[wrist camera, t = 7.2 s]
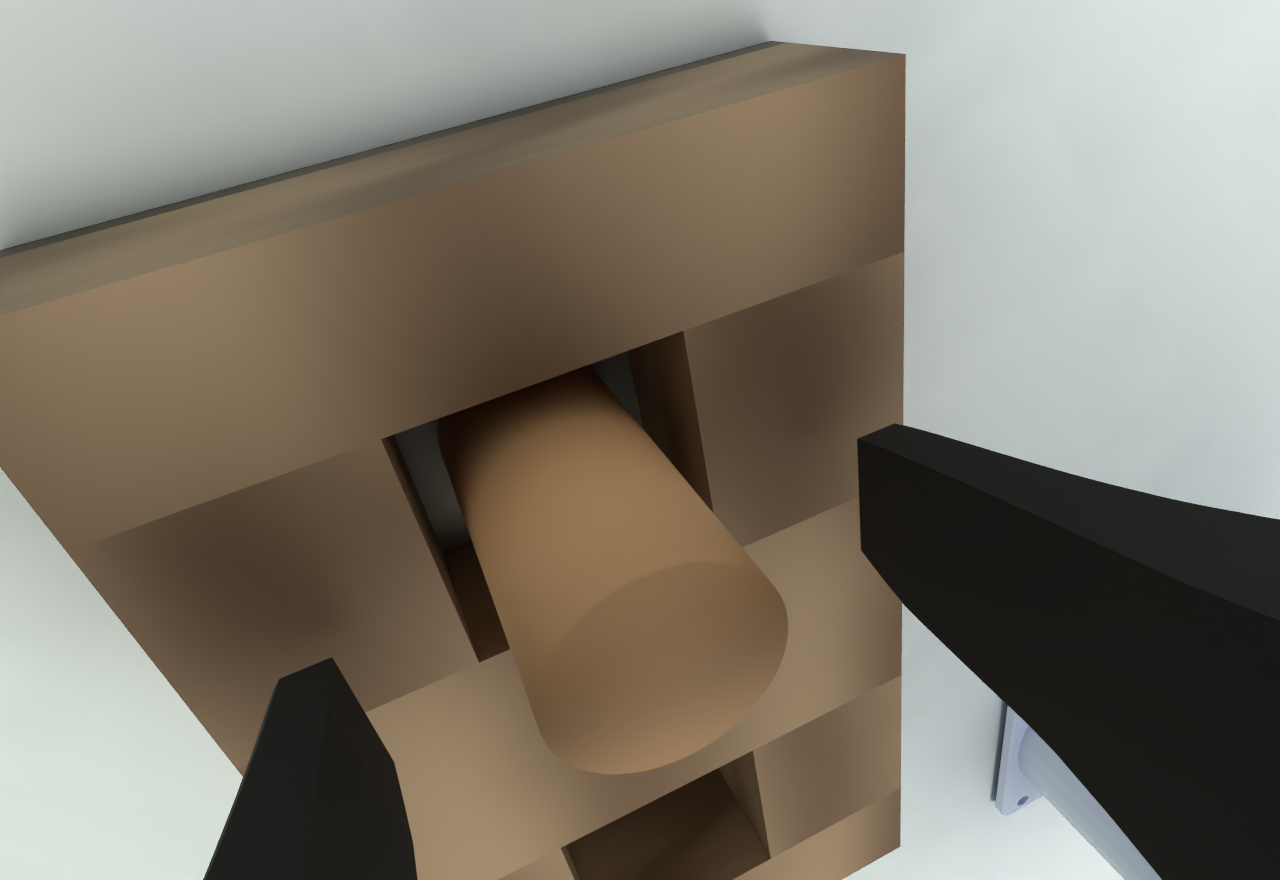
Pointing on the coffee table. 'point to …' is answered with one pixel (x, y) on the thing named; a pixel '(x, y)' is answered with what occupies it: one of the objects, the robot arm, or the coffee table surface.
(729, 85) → the walnut hole plate
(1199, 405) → the coffee table surface
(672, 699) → the tan peg
